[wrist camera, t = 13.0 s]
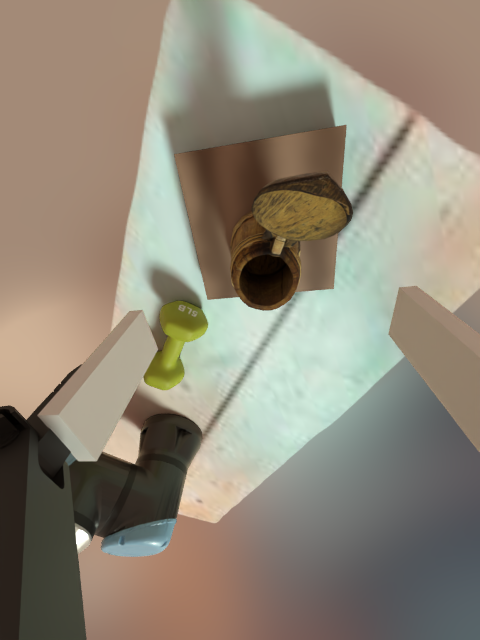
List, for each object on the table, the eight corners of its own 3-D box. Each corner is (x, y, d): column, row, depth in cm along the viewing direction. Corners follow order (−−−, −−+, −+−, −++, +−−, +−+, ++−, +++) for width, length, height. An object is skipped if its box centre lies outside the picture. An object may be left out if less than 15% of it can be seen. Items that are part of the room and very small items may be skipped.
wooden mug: (329, 179, 27) (417, 199, 12) (285, 286, 34) (304, 384, 19) (251, 153, 26) (239, 141, 11) (223, 269, 33) (193, 357, 18)
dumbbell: (171, 290, 40) (155, 313, 34) (215, 310, 42) (207, 334, 36) (147, 356, 49) (131, 383, 43) (185, 370, 50) (174, 398, 44)
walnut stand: (212, 288, 39) (207, 299, 36) (183, 155, 30) (174, 154, 27) (326, 277, 37) (333, 288, 34) (335, 129, 28) (346, 124, 24)
